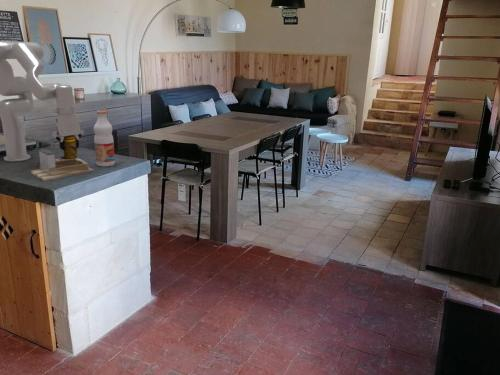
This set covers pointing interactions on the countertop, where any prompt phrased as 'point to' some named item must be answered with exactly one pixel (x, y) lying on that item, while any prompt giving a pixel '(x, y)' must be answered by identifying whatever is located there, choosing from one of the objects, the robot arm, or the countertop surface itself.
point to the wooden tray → (64, 169)
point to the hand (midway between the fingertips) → (69, 148)
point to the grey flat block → (47, 160)
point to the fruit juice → (103, 141)
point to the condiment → (69, 148)
